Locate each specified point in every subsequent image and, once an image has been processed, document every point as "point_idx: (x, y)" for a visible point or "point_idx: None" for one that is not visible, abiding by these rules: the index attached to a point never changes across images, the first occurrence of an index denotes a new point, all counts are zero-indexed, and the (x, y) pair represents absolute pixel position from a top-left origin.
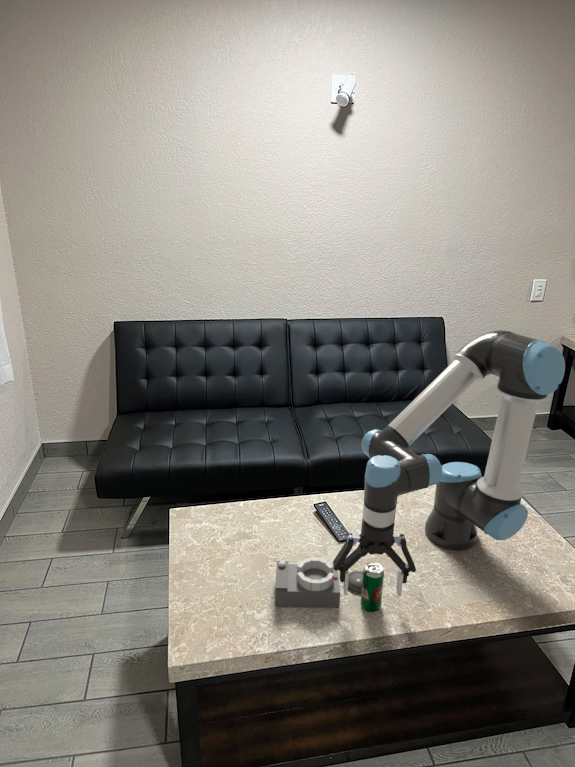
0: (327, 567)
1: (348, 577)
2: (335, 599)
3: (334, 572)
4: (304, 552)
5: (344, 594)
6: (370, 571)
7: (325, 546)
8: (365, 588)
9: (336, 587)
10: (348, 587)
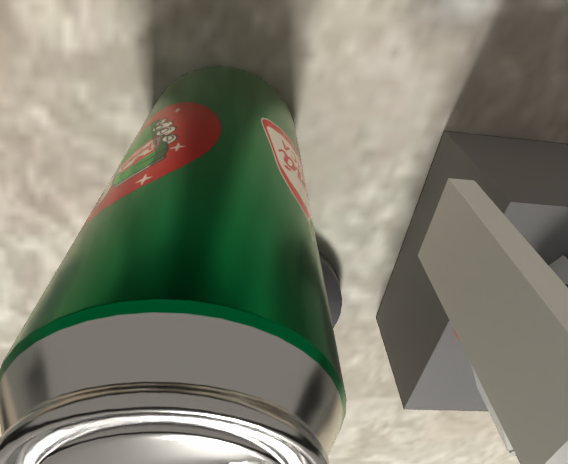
0: None
1: (566, 332)
2: (506, 167)
3: (449, 366)
4: (452, 435)
5: (473, 183)
6: (256, 444)
7: (355, 455)
8: (300, 203)
9: None
10: (333, 273)
